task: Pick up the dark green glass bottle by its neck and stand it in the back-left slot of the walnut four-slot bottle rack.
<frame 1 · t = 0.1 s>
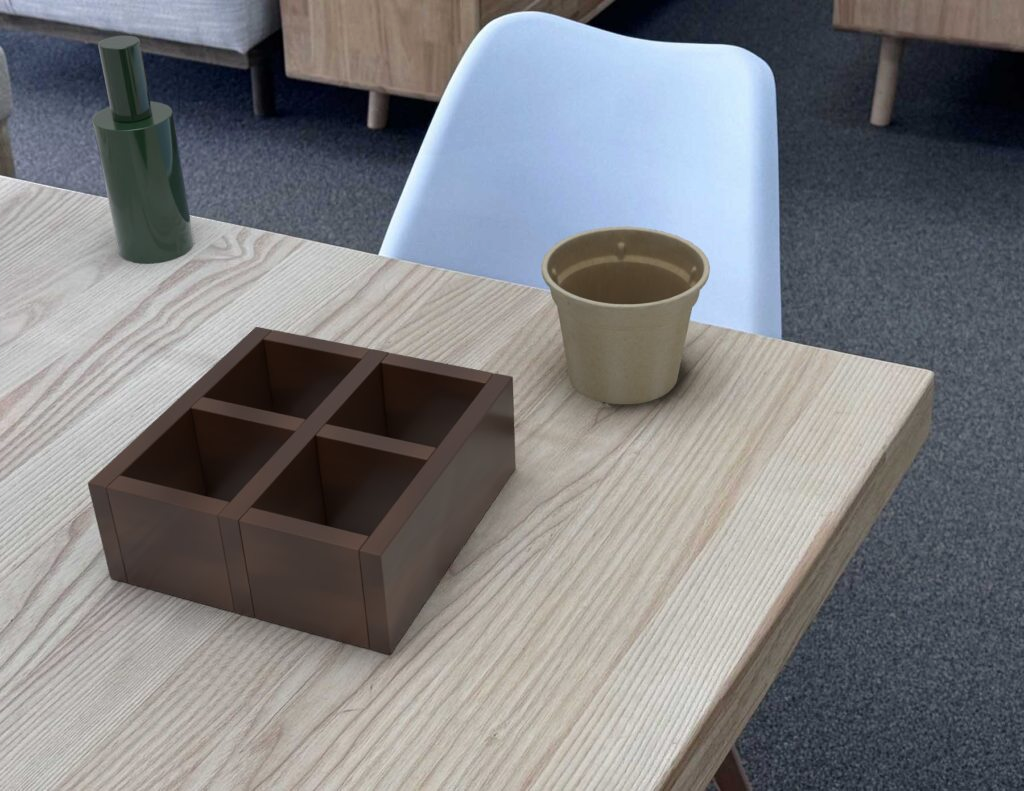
rack: (322, 520, 74), on the table
flower pot: (622, 395, 83), on the table
bottle: (159, 262, 99), on the table
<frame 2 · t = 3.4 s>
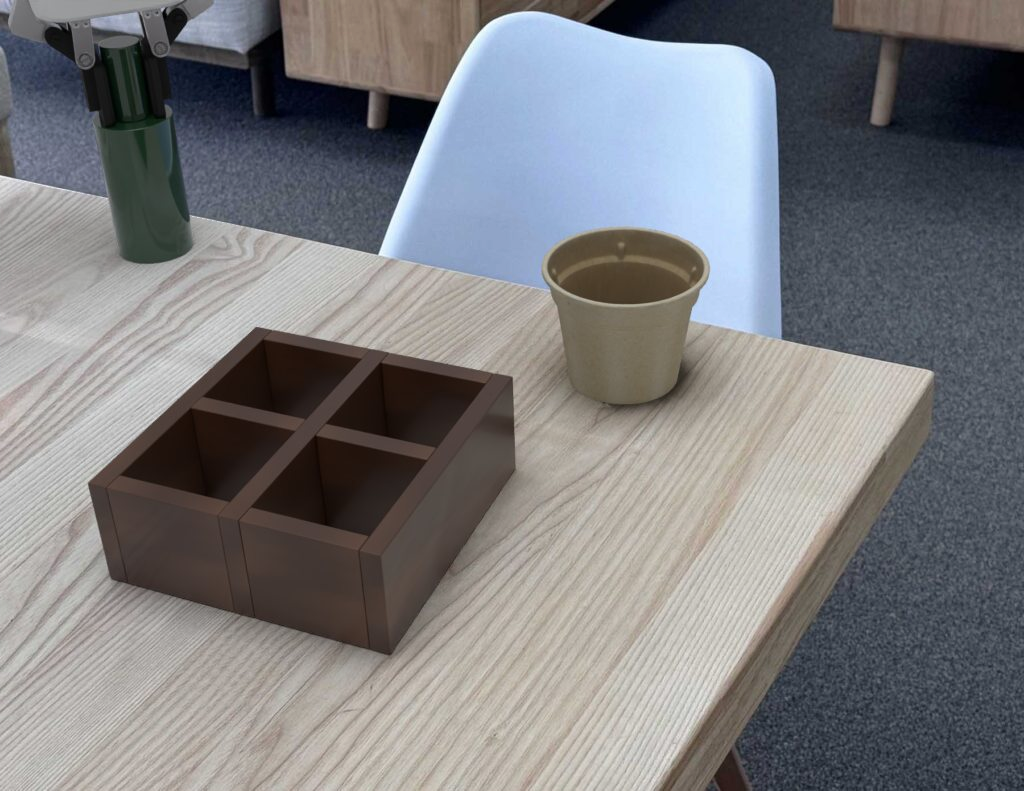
hand: (131, 112, 93), 11 cm above the table, tool pointing down, fingers closed on bottle, 2 cm apart
bottle: (159, 262, 99), on the table, touching gripper
everything else where it was.
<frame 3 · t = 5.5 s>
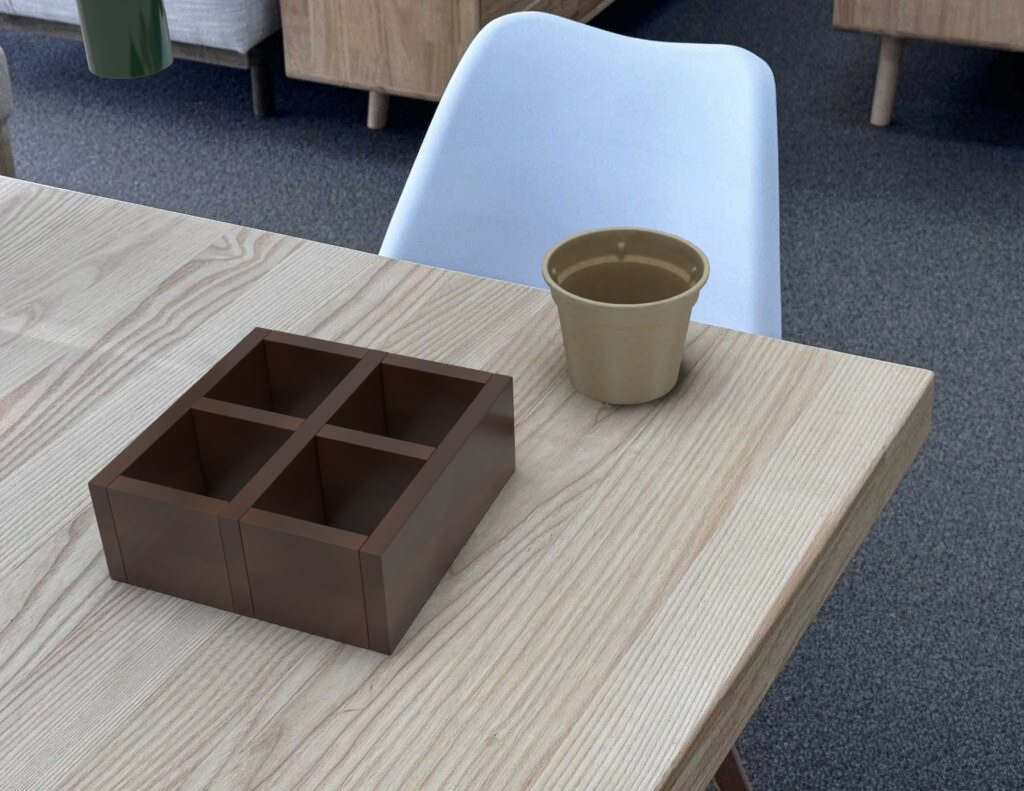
bottle: (131, 64, 88), point 16 cm above the table, touching gripper
everything else where it was.
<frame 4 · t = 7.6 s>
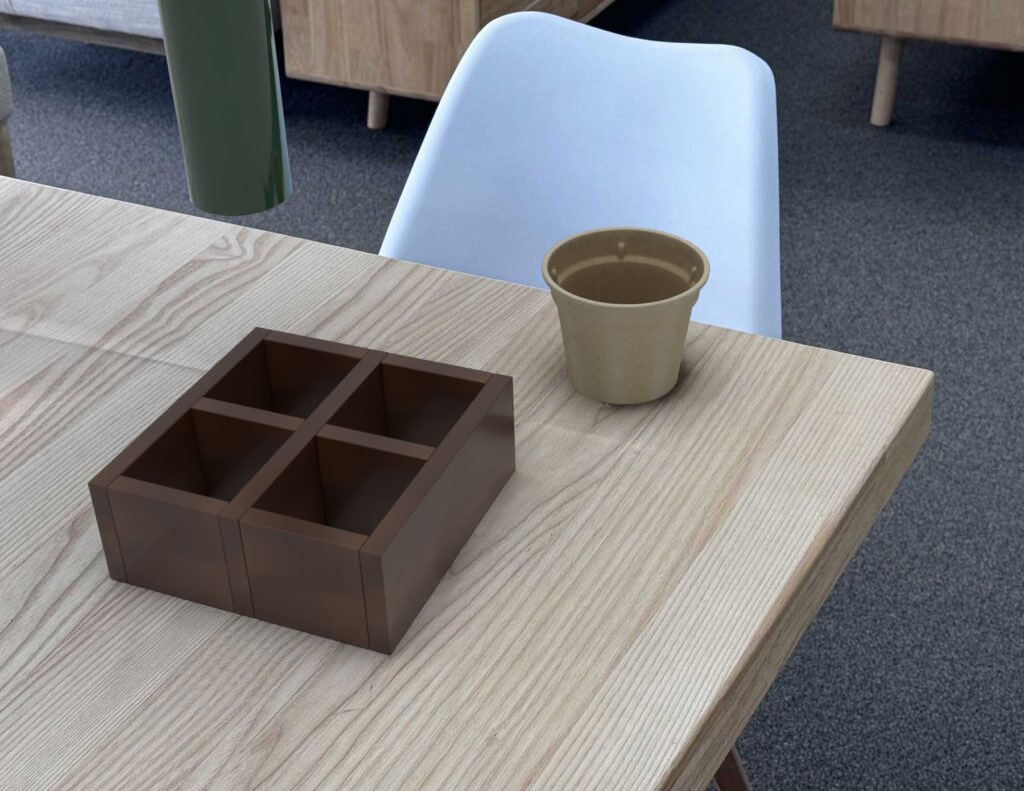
bottle: (241, 194, 72), point 15 cm above the table, touching gripper
everything else where it was.
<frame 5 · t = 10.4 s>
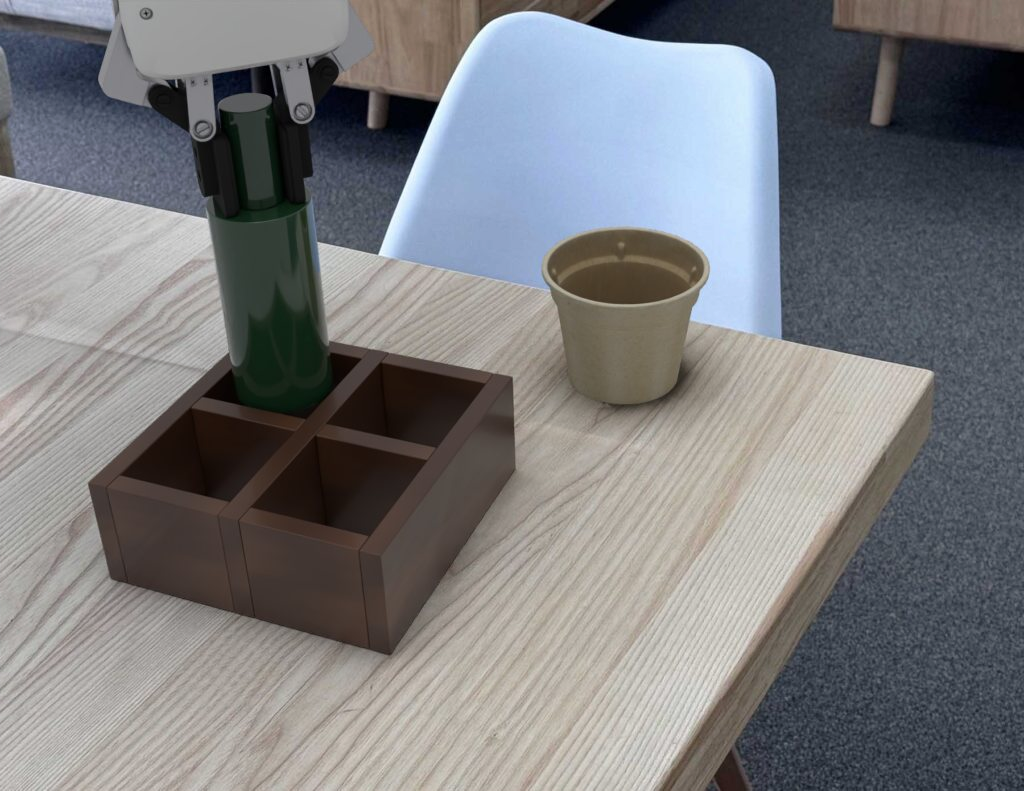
hand: (258, 196, 69), 17 cm above the table, tool pointing down, fingers closed on bottle, 2 cm apart
bottle: (284, 386, 75), point 5 cm above the table, touching gripper
everything else where it was.
when the fingers open (11 cm above the table, at t = 12.1 s): bottle stays where it is, resting in rack.
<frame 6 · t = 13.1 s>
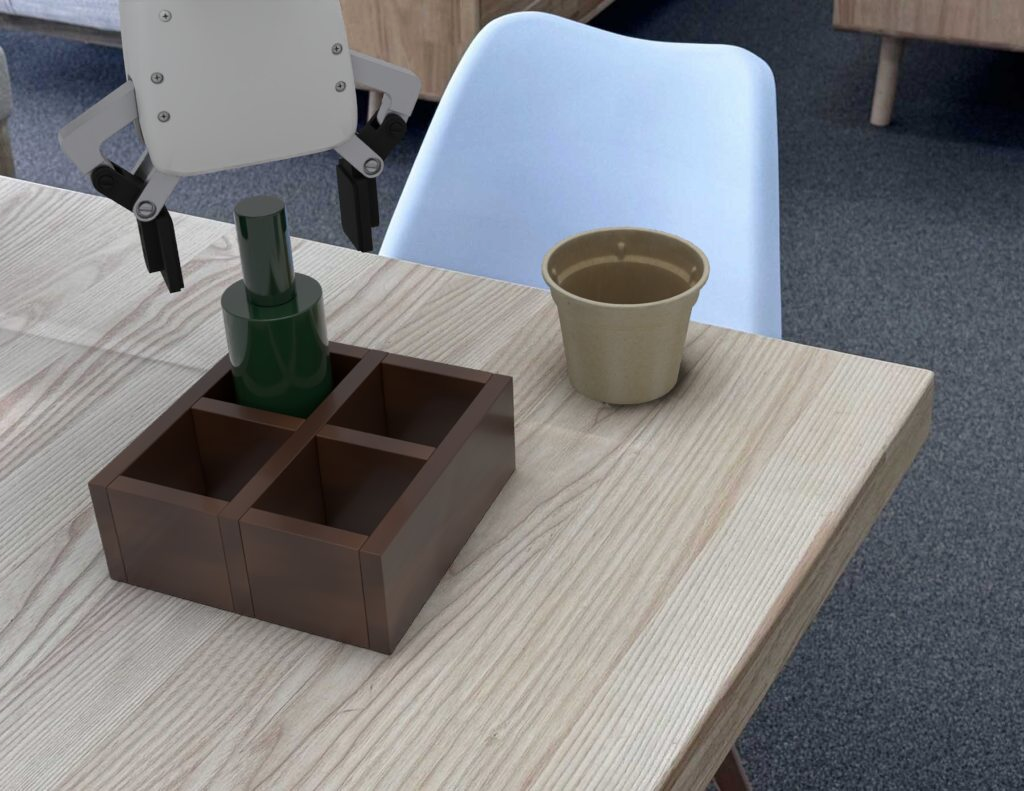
hand: (266, 260, 71), 13 cm above the table, tool pointing down, fingers open, 9 cm apart
bottle: (295, 467, 78), resting in rack
everything else where it was.
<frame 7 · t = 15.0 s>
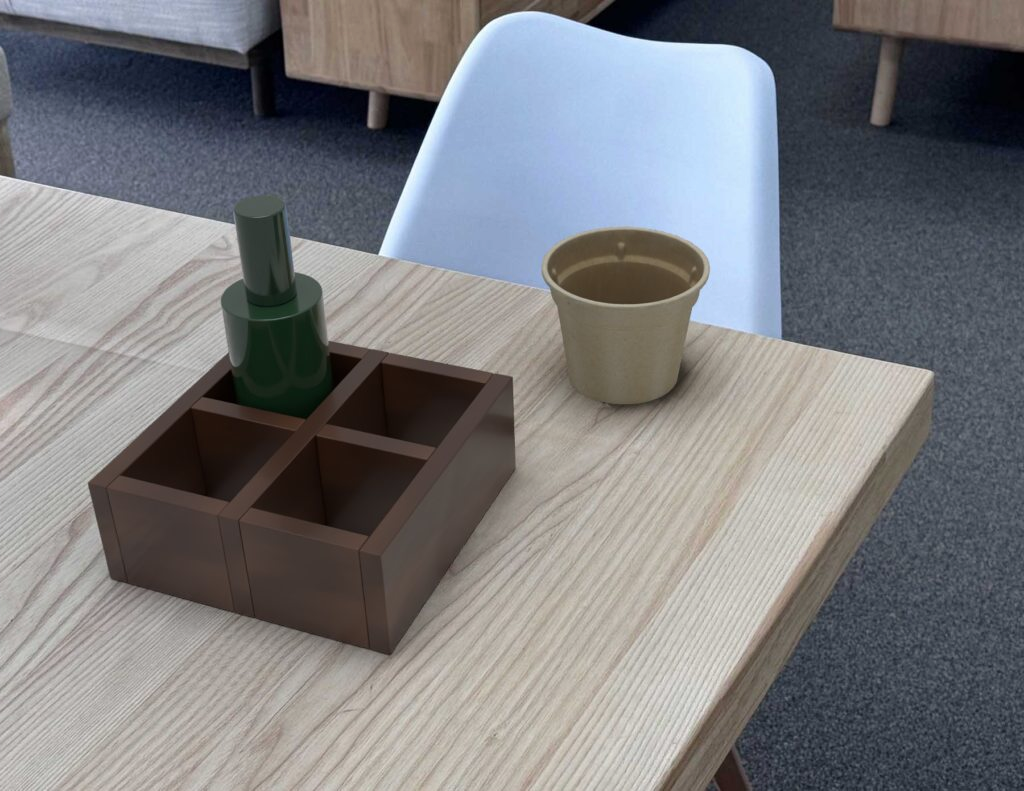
nothing on the table moved.
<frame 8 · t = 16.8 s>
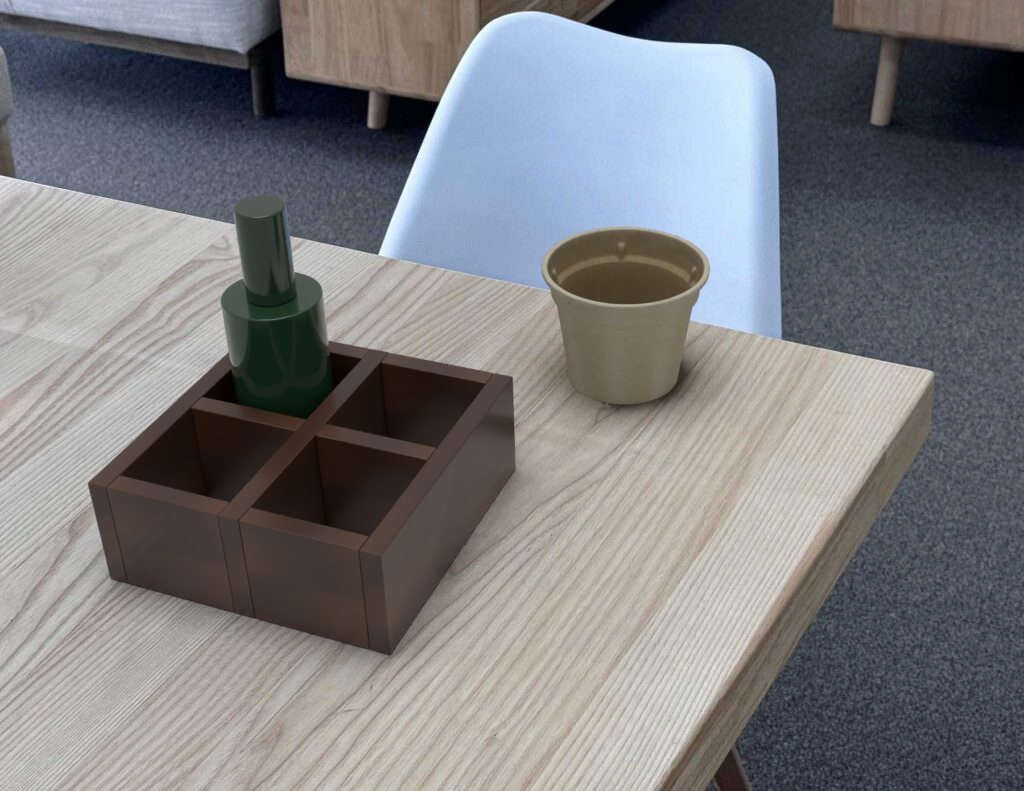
nothing on the table moved.
at the end: bottle 0.1 cm from the target spot in the rack, point 0.0 cm above the rack's base; bottle tilted 0°; the gripper is holding nothing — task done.
